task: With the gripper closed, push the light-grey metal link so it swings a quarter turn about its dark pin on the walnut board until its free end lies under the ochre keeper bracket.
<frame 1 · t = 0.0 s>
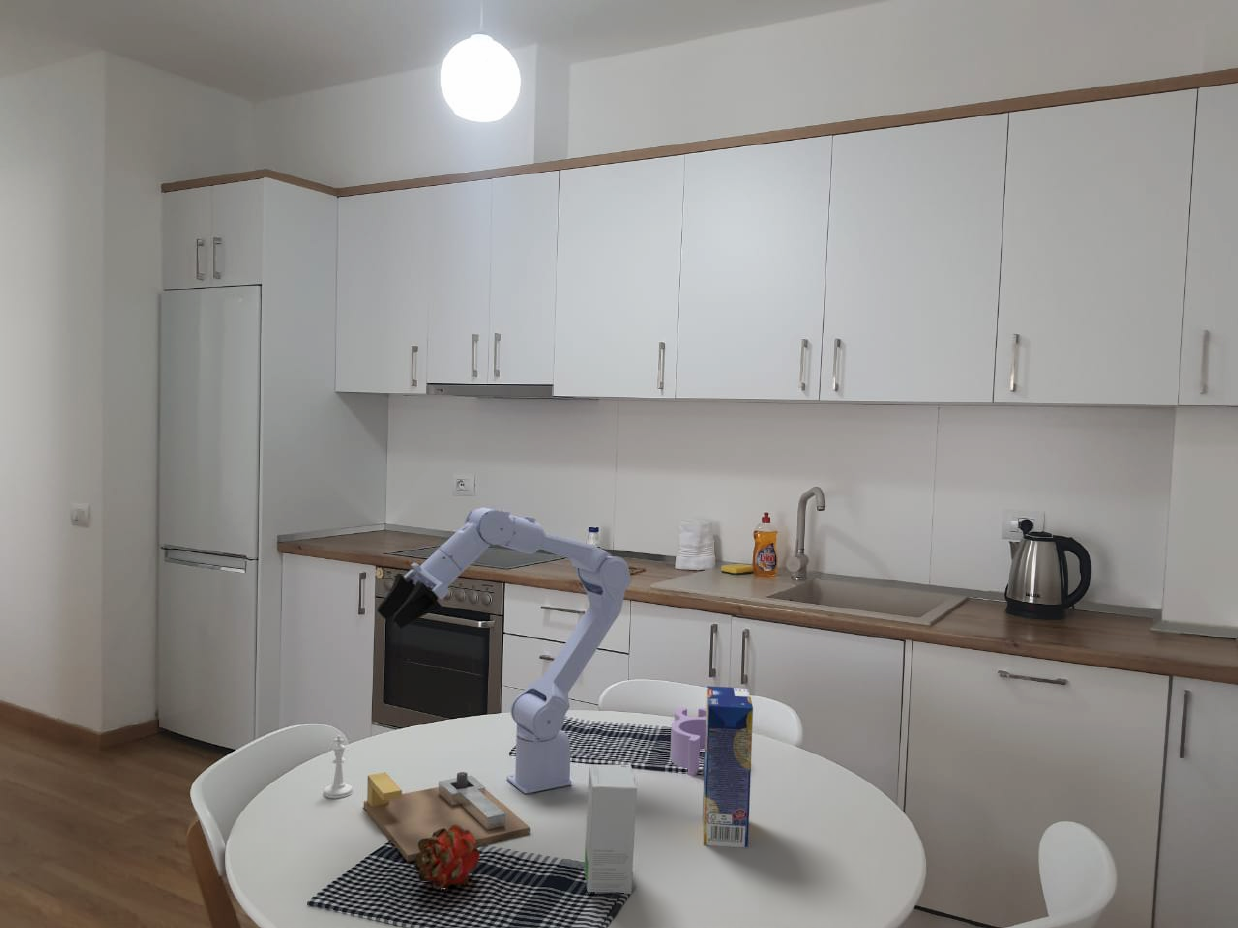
hand: (388, 619, 151), 32 cm above the table, tool tilted 50°, fingers open, 7 cm apart
beverage box: (724, 832, 149), on the table
skincare box: (608, 882, 132), on the table
clip: (699, 758, 183), on the table
board: (444, 819, 150), on the table
keeper: (382, 813, 152), resting on board
chess piece: (338, 793, 160), on the table
link: (474, 801, 152), point 2 cm above the table, hinge at 90.0°
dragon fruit: (447, 882, 130), on the table
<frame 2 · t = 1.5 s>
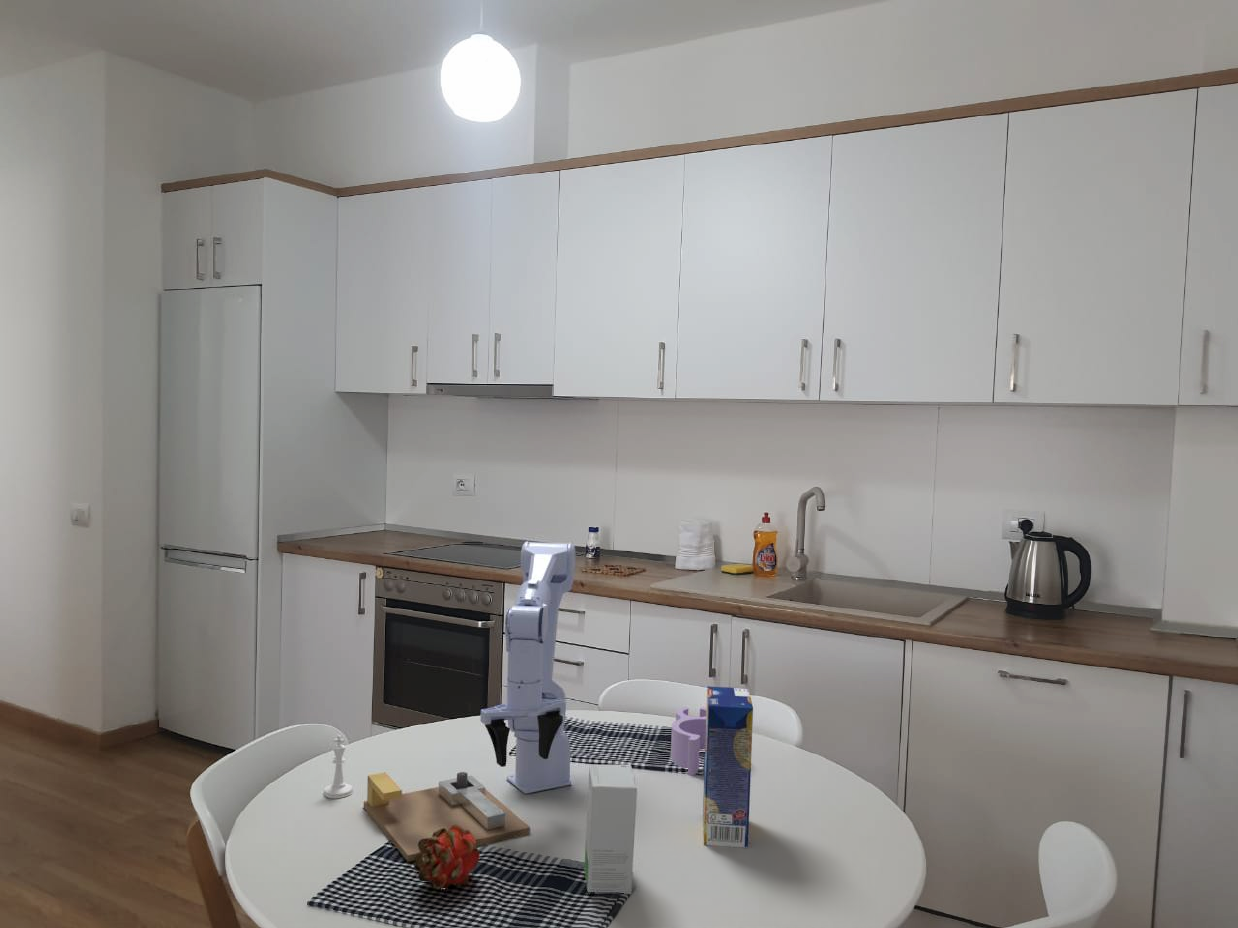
hand: (522, 760, 152), 10 cm above the table, tool pointing down, fingers open, 7 cm apart
nothing on the table moved.
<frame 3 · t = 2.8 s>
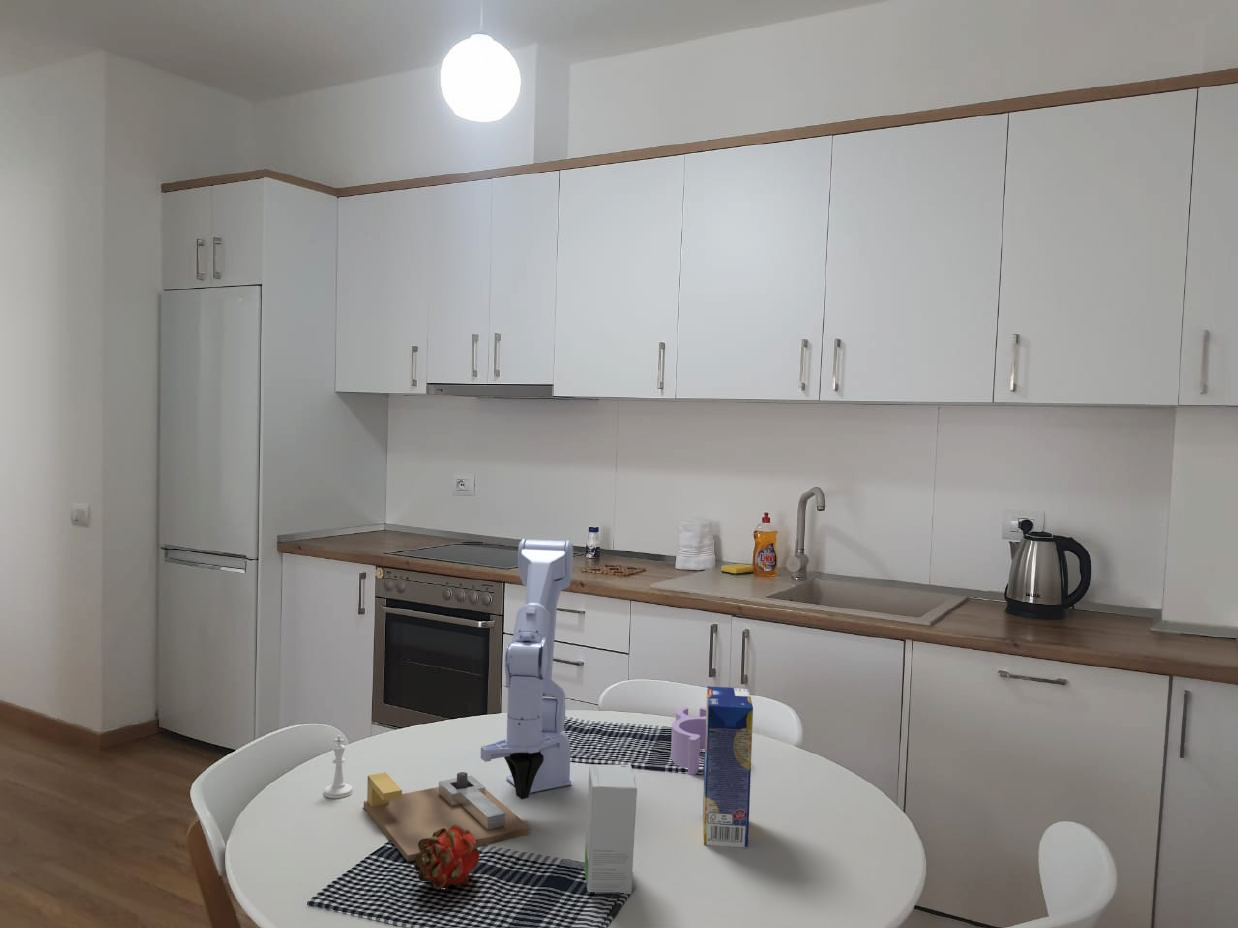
hand: (522, 796, 152), 4 cm above the table, tool pointing down, fingers closed
nothing on the table moved.
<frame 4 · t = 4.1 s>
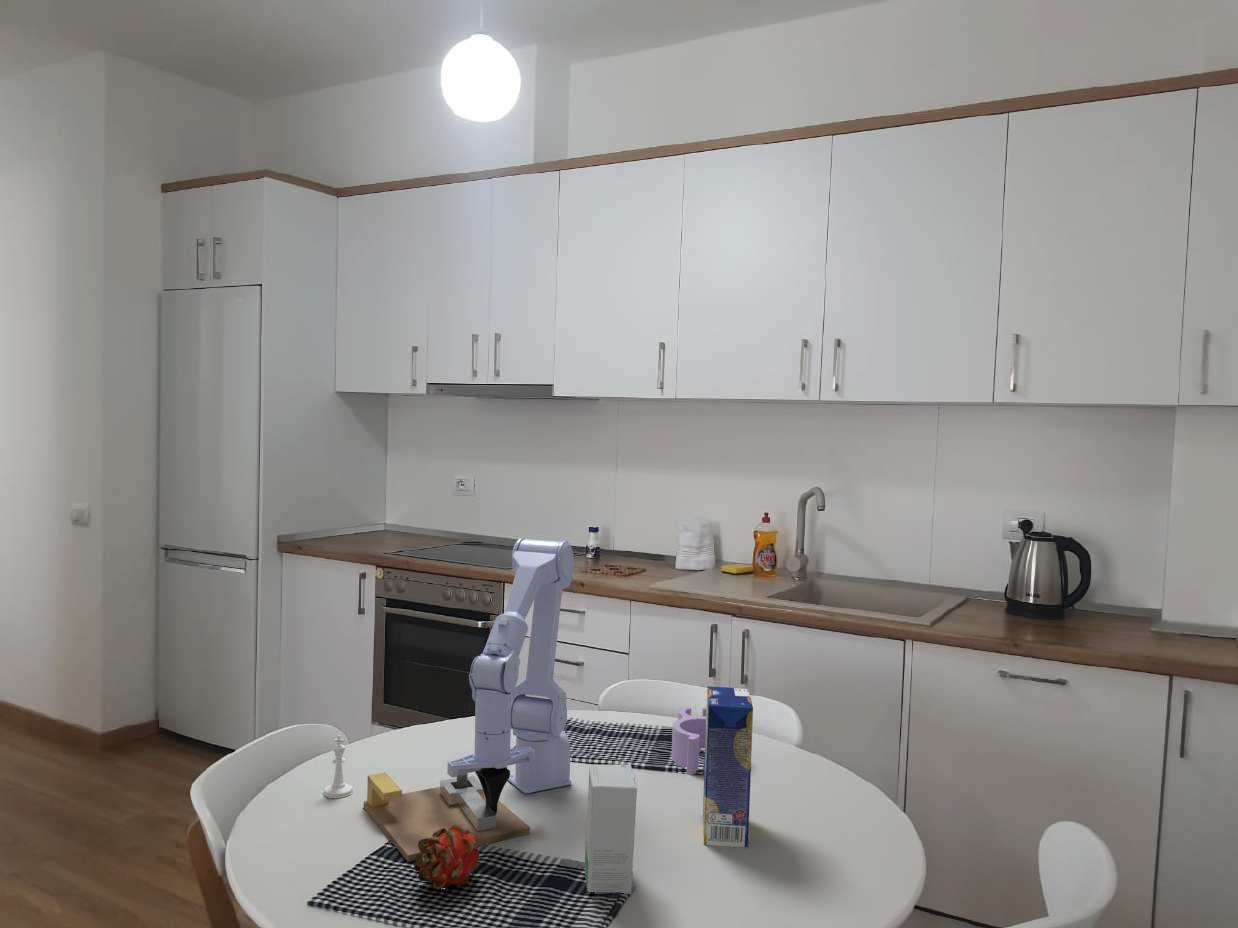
hand: (491, 812, 149), 2 cm above the table, tool pointing down, fingers closed, pressing on link
link: (471, 802, 152), point 2 cm above the table, hinge at 83.6°, touching gripper
everything else where it was.
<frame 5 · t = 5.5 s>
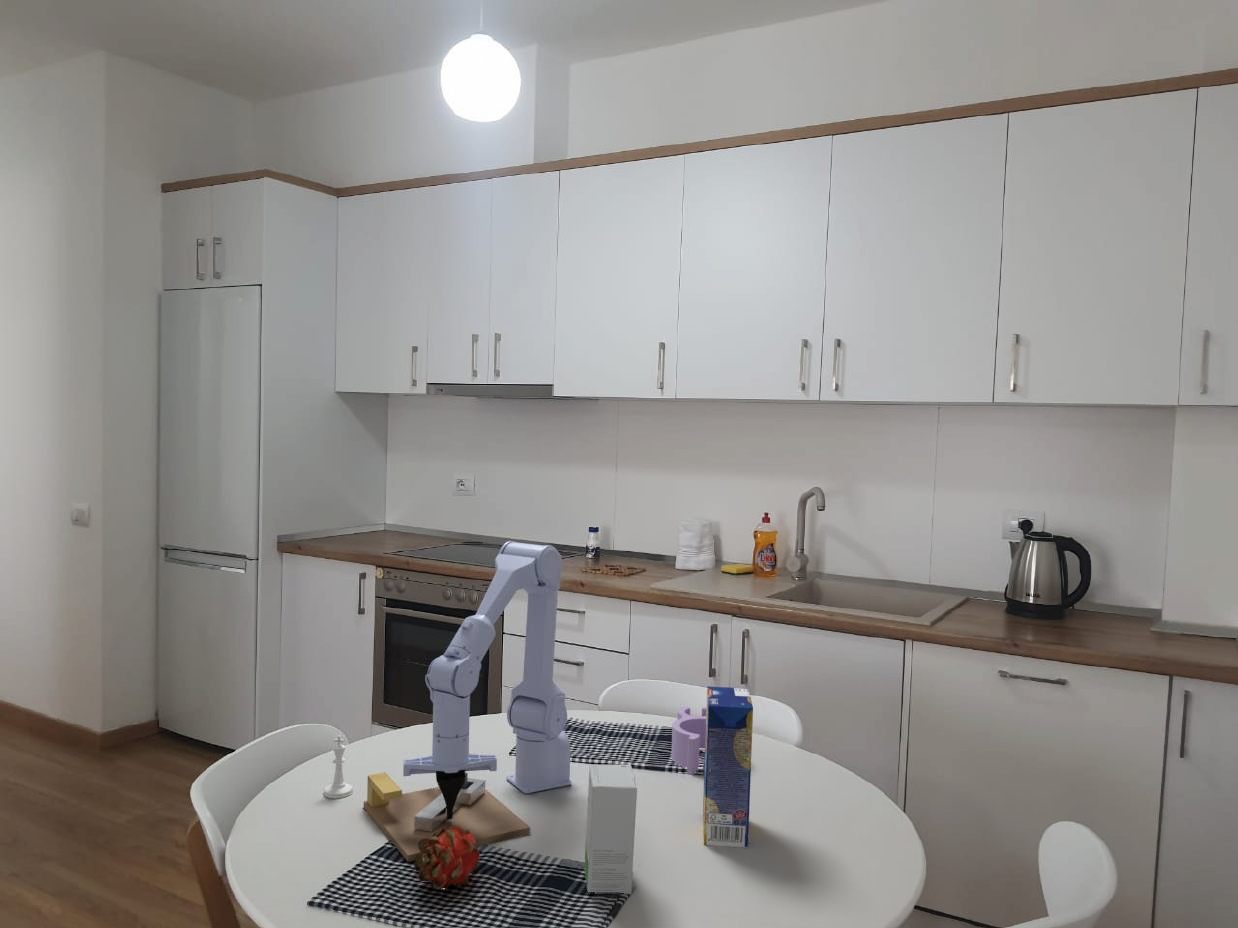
hand: (449, 816, 147), 2 cm above the table, tool pointing down, fingers closed, pressing on link
link: (447, 802, 152), point 2 cm above the table, hinge at 42.3°, touching gripper
everything else where it was.
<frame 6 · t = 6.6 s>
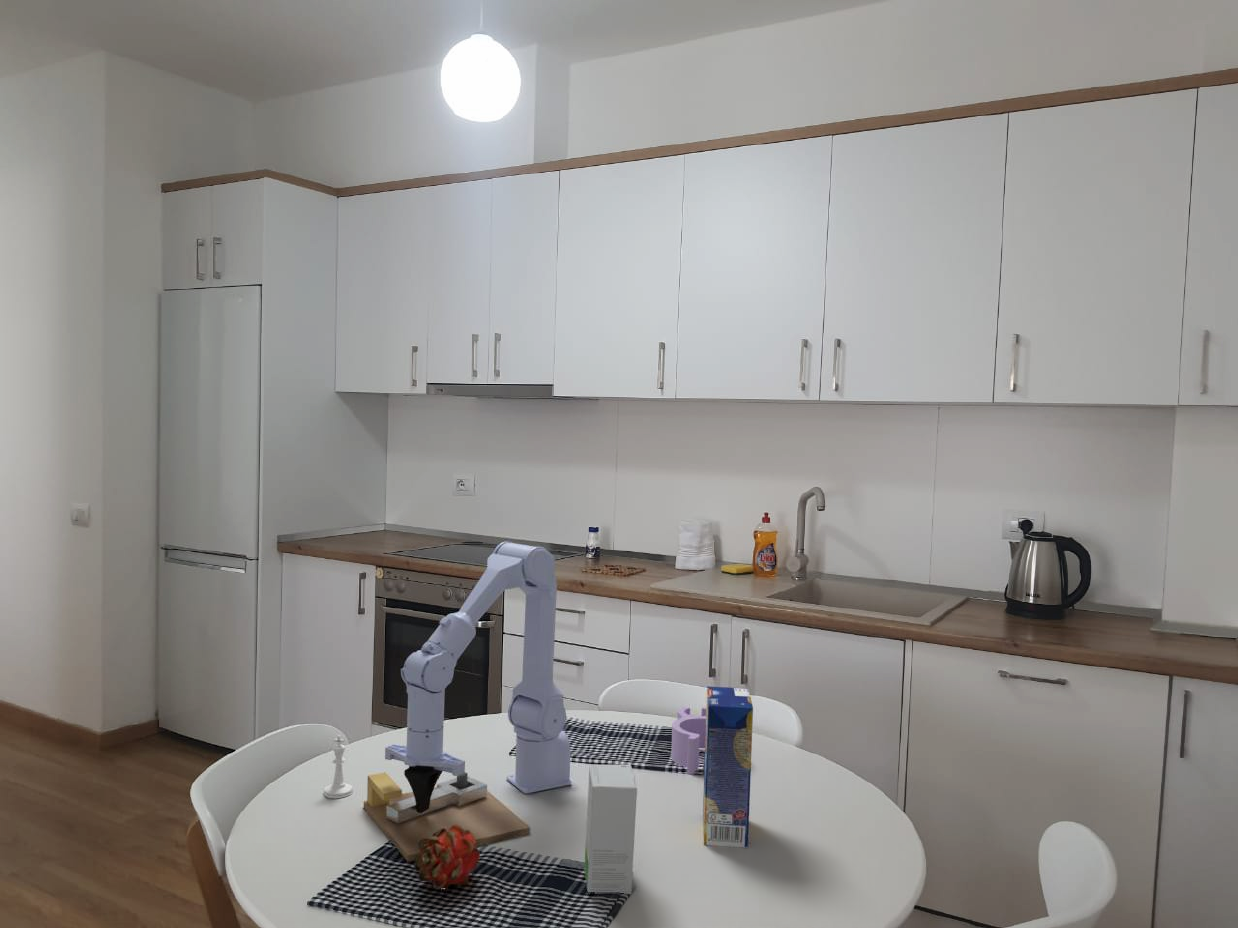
hand: (422, 810, 148), 2 cm above the table, tool pointing down, fingers closed, pressing on link
link: (435, 799, 153), point 2 cm above the table, hinge at 16.2°, touching gripper
everything else where it was.
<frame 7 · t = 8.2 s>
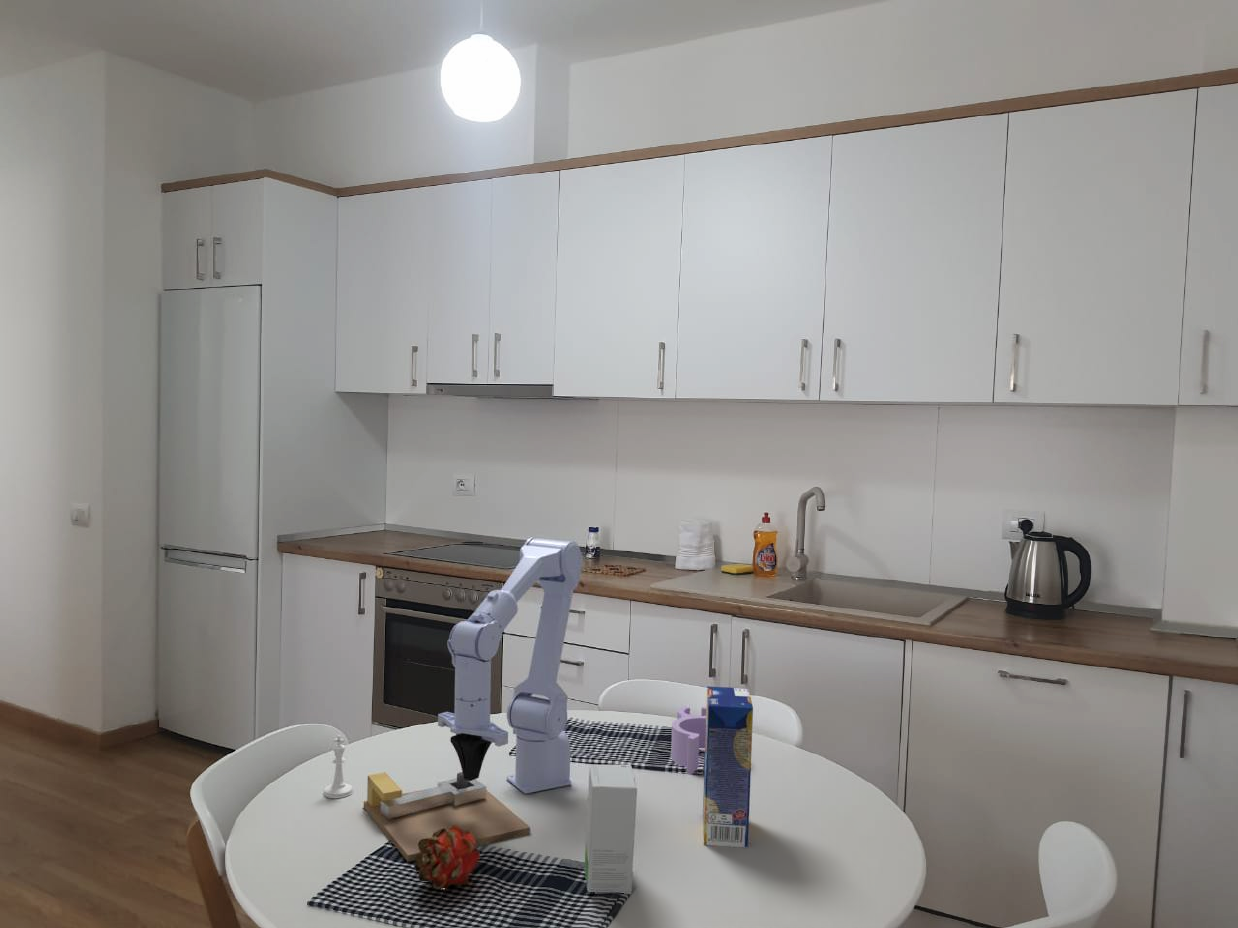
hand: (471, 778, 150), 7 cm above the table, tool pointing down, fingers closed
link: (432, 797, 153), point 2 cm above the table, hinge at 6.9°
everything else where it was.
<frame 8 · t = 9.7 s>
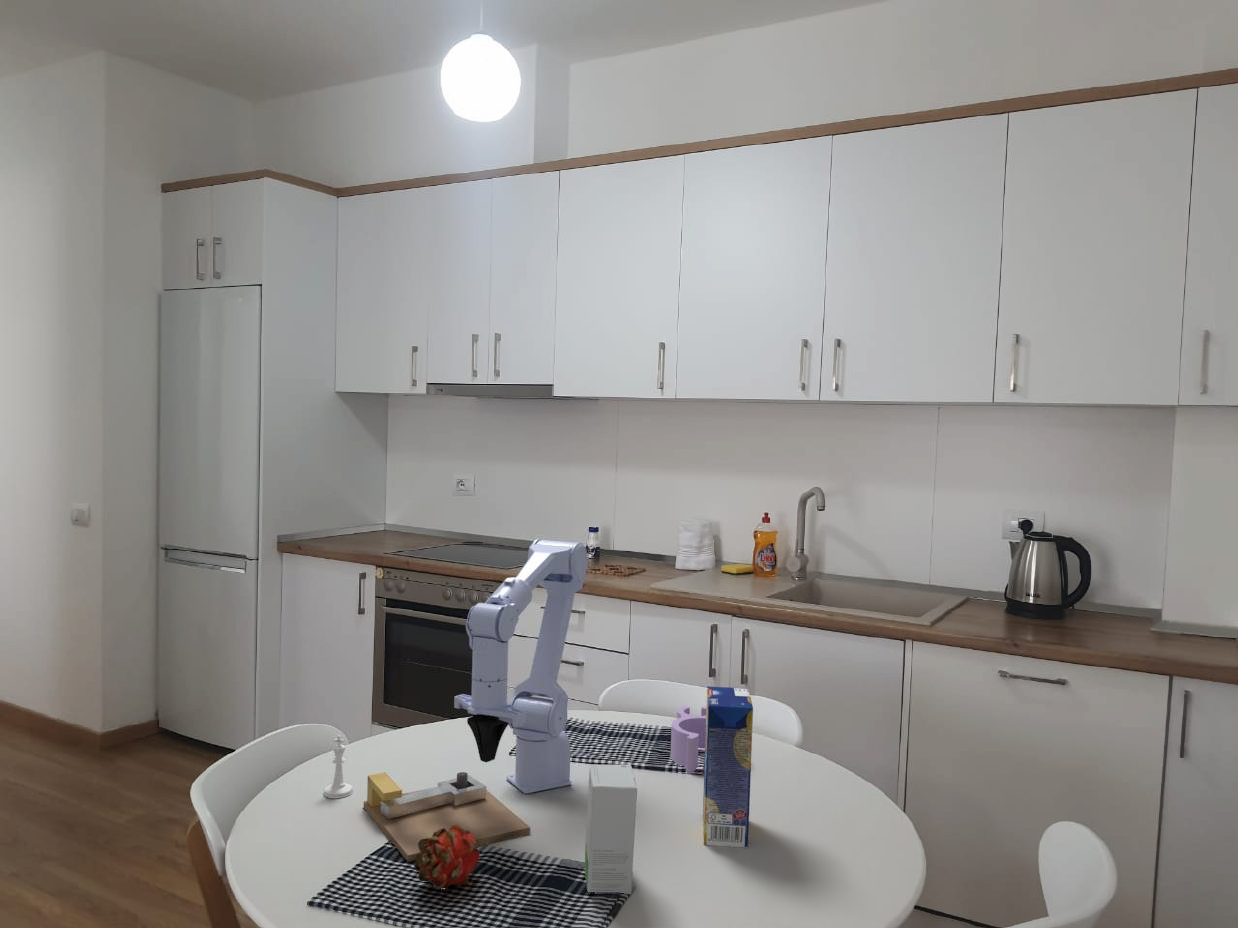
hand: (487, 759, 150), 10 cm above the table, tool pointing down, fingers closed
nothing on the table moved.
at the end: link at +7° (first picture: +90°) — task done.
